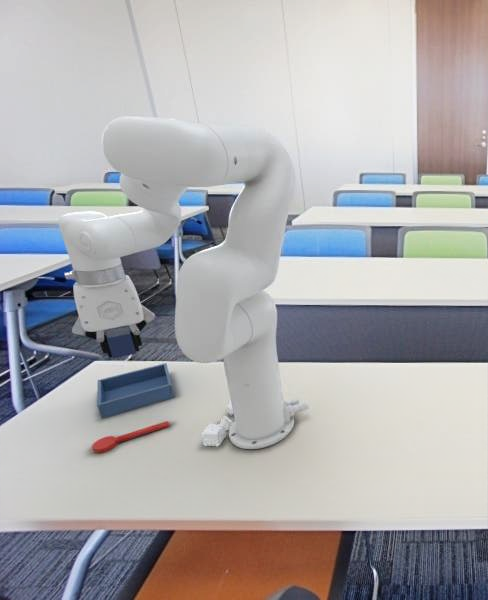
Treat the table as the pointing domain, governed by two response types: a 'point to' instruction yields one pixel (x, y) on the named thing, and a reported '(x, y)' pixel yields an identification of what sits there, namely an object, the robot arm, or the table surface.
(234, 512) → the table surface
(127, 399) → the blue tray
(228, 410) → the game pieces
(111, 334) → the blue block
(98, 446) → the red spoon
